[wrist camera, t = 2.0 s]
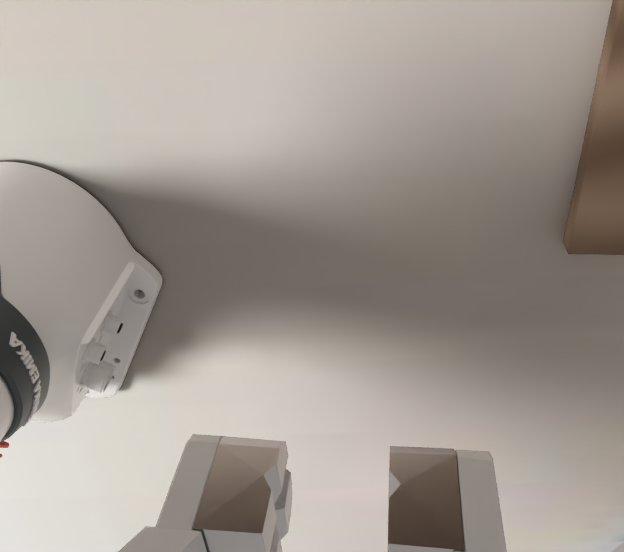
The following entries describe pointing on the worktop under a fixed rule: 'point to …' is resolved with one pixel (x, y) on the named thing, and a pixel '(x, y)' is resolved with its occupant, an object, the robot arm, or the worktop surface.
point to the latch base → (602, 156)
